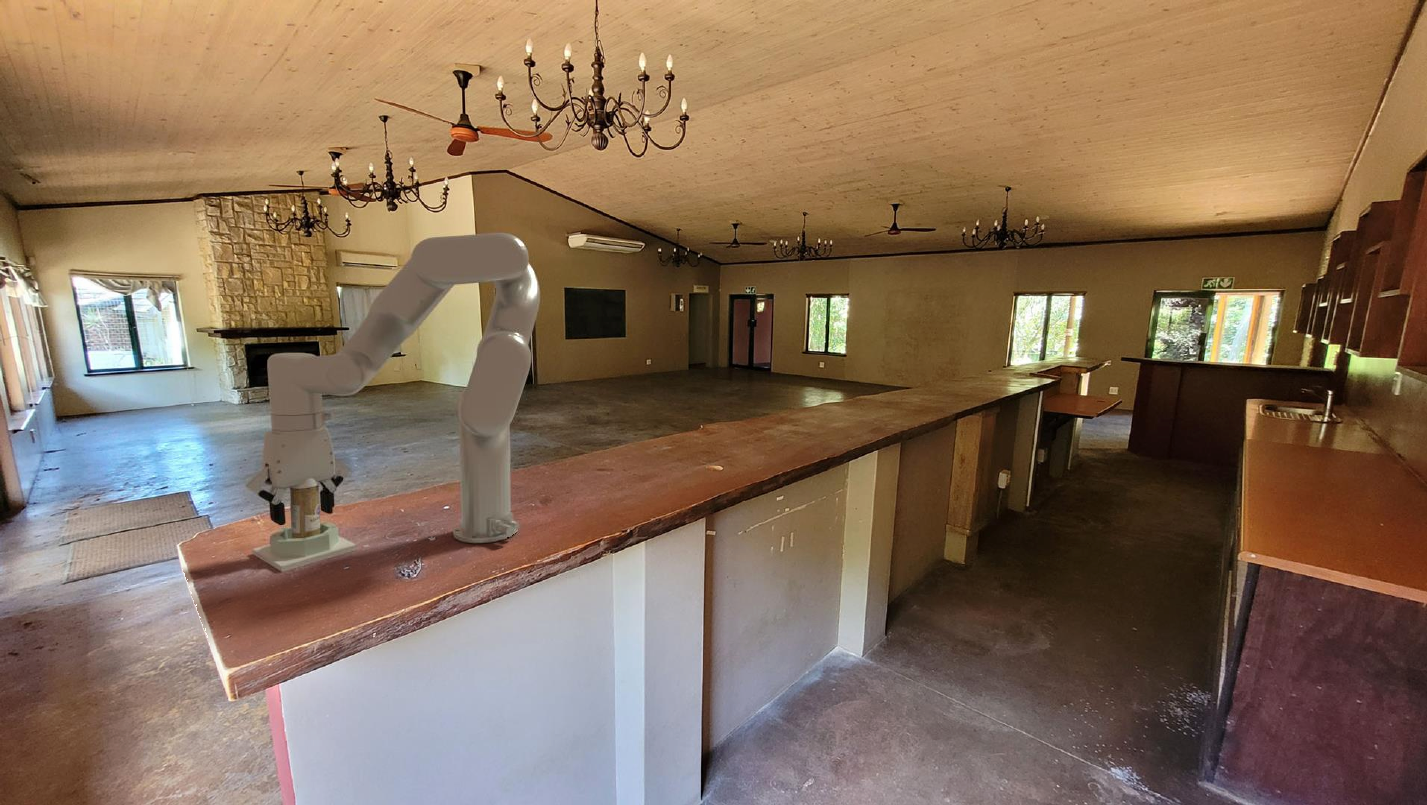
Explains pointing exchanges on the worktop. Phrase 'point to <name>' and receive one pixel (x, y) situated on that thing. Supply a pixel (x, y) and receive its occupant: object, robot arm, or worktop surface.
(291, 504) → the sprinkles bottle
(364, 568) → the worktop surface
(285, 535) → the bottle collar
